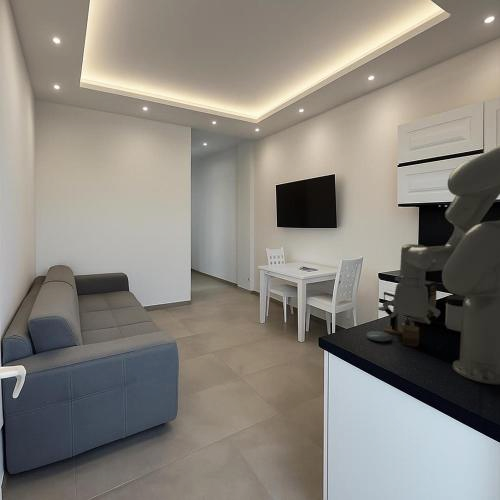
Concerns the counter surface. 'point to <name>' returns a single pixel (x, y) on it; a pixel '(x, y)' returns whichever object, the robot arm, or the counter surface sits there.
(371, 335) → the dish
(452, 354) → the counter surface
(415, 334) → the block
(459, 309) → the jar
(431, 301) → the coffee box
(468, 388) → the counter surface
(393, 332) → the balance
